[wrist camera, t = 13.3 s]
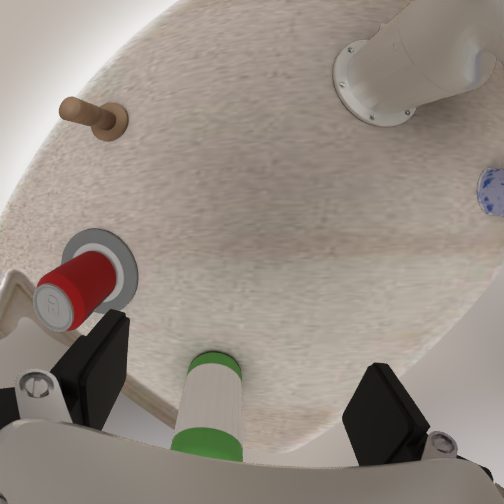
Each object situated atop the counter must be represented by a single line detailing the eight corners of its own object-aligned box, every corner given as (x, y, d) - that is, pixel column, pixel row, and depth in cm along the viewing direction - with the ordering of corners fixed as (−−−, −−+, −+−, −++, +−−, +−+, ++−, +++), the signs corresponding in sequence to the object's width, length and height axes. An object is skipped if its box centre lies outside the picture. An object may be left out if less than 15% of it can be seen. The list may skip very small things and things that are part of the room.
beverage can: (76, 290, 38) (30, 327, 27) (77, 244, 37) (26, 271, 25) (117, 301, 39) (79, 345, 27) (121, 254, 37) (77, 287, 26)
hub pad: (67, 220, 37) (64, 221, 36) (144, 239, 38) (142, 241, 37) (63, 298, 39) (60, 300, 39) (133, 321, 41) (131, 323, 40)
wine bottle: (252, 370, 43) (266, 564, 14) (217, 397, 44) (204, 574, 15) (213, 339, 42) (187, 545, 13) (178, 369, 43) (132, 553, 14)
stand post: (99, 102, 33) (56, 83, 22) (132, 106, 33) (95, 85, 23) (90, 138, 34) (44, 130, 24) (122, 143, 35) (82, 135, 24)
